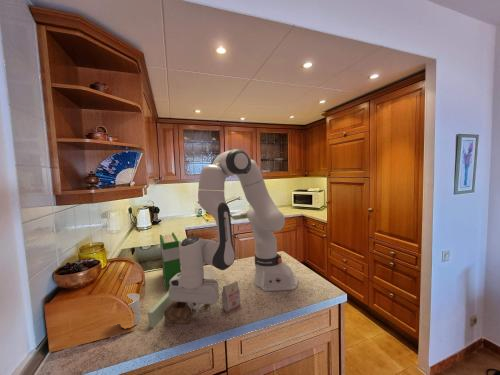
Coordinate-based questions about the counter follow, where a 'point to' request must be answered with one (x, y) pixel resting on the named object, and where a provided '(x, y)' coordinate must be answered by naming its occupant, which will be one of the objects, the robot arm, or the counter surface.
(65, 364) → the counter surface
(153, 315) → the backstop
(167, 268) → the hardback book
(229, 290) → the tea bag
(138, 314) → the white cup
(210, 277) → the washcloth
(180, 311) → the block
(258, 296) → the counter surface
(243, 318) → the counter surface
